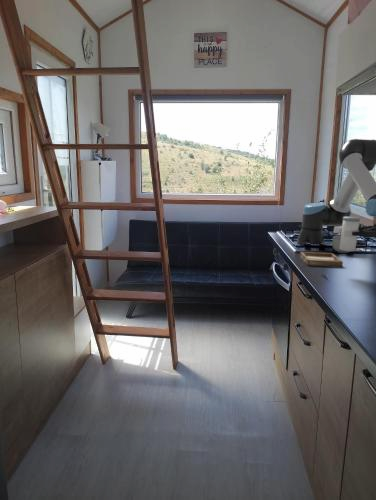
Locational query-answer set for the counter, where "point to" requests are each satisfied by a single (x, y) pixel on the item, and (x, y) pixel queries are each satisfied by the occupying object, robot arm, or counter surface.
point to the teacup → (337, 244)
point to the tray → (320, 259)
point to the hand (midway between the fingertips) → (339, 231)
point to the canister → (349, 242)
